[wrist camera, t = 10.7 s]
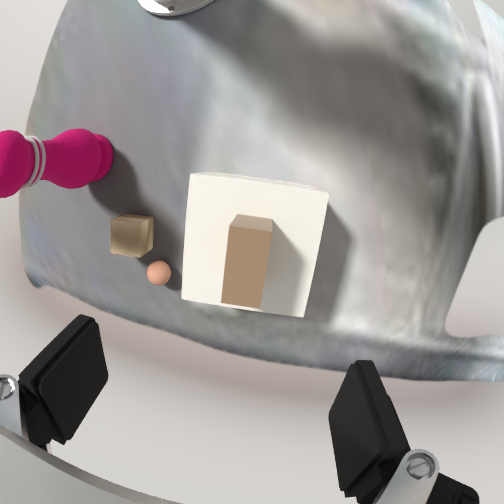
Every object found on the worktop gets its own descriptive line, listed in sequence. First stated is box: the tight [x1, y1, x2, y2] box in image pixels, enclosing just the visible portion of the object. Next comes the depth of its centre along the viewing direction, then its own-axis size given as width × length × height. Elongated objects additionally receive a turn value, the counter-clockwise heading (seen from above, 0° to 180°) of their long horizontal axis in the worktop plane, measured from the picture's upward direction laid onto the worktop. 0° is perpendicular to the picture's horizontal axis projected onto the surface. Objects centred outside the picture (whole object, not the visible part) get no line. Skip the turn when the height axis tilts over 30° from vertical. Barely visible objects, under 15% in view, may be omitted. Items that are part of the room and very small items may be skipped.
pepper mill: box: [0, 129, 113, 198], centre depth 22 cm, size 7×7×20 cm
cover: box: [182, 172, 329, 317], centre depth 27 cm, size 12×12×13 cm
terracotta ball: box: [147, 261, 171, 285], centre depth 34 cm, size 3×3×3 cm
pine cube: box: [111, 214, 154, 258], centre depth 32 cm, size 4×4×4 cm
